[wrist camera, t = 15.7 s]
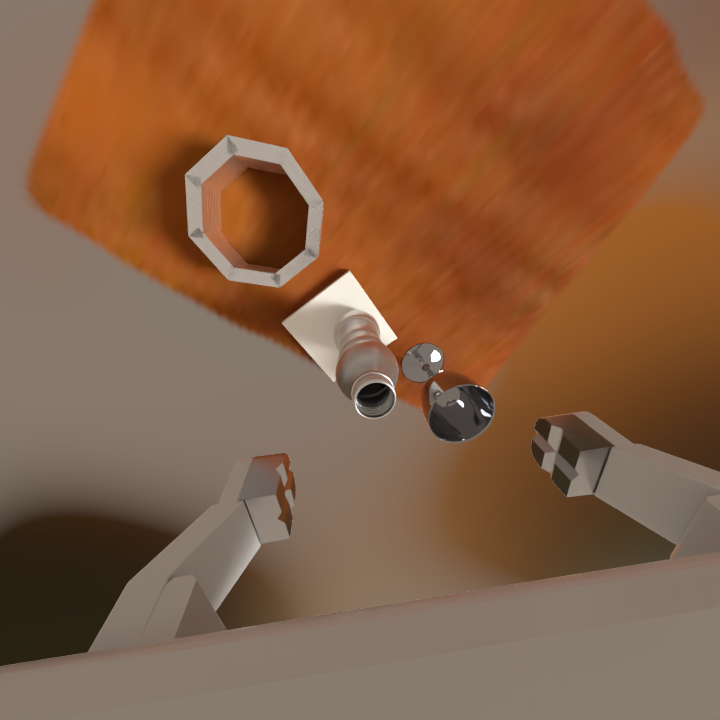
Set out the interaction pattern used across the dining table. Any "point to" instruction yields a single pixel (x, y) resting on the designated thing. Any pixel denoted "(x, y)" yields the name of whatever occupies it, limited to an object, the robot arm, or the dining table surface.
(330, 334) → the ceramic pad
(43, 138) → the dining table surface
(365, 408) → the plastic bottle
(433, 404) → the wine glass
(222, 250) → the steel collar
